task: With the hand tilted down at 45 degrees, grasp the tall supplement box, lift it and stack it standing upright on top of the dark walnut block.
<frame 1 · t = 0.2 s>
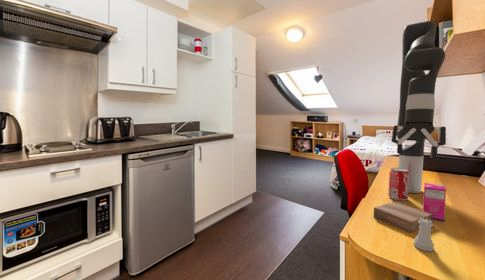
hand: (415, 156, 75), 22 cm above the table, tool pointing down, fingers open, 8 cm apart
rook chess piece: (423, 248, 61), on the table
walnut block: (401, 221, 76), on the table
supplement box: (432, 217, 79), on the table
soda can: (397, 198, 96), on the table
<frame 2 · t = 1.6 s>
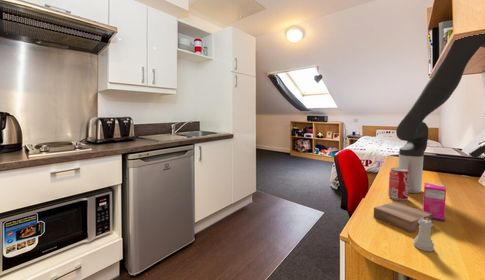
hand: (478, 158, 72), 22 cm above the table, tool tilted 45°, fingers open, 8 cm apart
nothing on the table moved.
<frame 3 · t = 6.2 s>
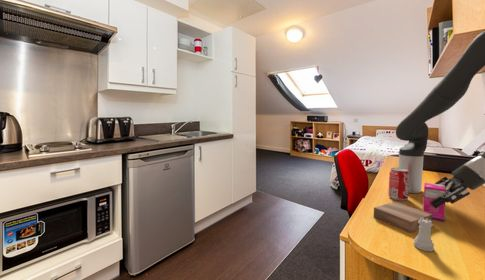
hand: (428, 201, 79), 5 cm above the table, tool tilted 45°, fingers closed on supplement box, 7 cm apart
supplement box: (432, 217, 79), on the table, touching gripper
everything else where it was.
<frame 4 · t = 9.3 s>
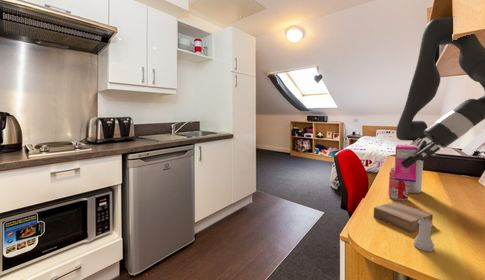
hand: (400, 163, 75), 20 cm above the table, tool tilted 45°, fingers closed on supplement box, 7 cm apart
supplement box: (405, 179, 75), point 15 cm above the table, touching gripper
everything else where it was.
when the fingers open (11 cm above the table, at t = 12.4 s): supplement box drops 2 cm, resting on walnut block.
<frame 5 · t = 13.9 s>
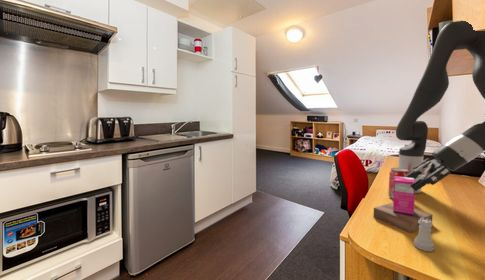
hand: (409, 184, 74), 13 cm above the table, tool tilted 45°, fingers open, 8 cm apart
walnut block: (401, 222, 76), on the table, touching supplement box
supplement box: (402, 211, 76), point 3 cm above the table, touching walnut block
everything else where it was.
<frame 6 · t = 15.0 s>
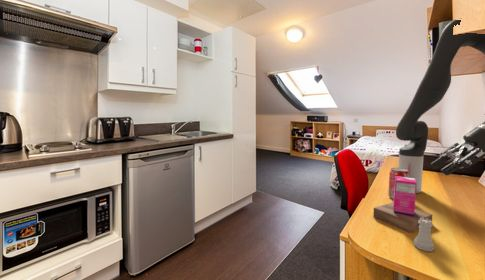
hand: (437, 169, 71), 19 cm above the table, tool tilted 45°, fingers open, 8 cm apart
walnut block: (401, 222, 77), on the table
supplement box: (402, 211, 76), point 3 cm above the table
everything else where it was.
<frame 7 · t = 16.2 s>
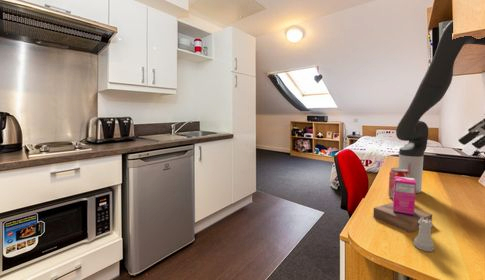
hand: (467, 144, 69), 27 cm above the table, tool tilted 45°, fingers open, 8 cm apart
walnut block: (401, 222, 77), on the table, touching supplement box
supplement box: (402, 211, 76), point 3 cm above the table, touching walnut block
everything else where it was.
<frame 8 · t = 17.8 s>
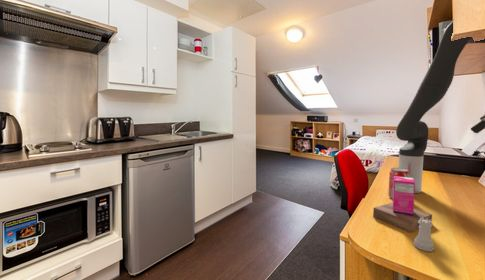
hand: (480, 132, 69), 31 cm above the table, tool tilted 45°, fingers open, 8 cm apart
nothing on the table moved.
at the end: supplement box inside the target area on the walnut block (0.3 cm from its centre), point 3.9 cm above the walnut block's base; supplement box tilted 2°; the gripper is holding nothing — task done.
